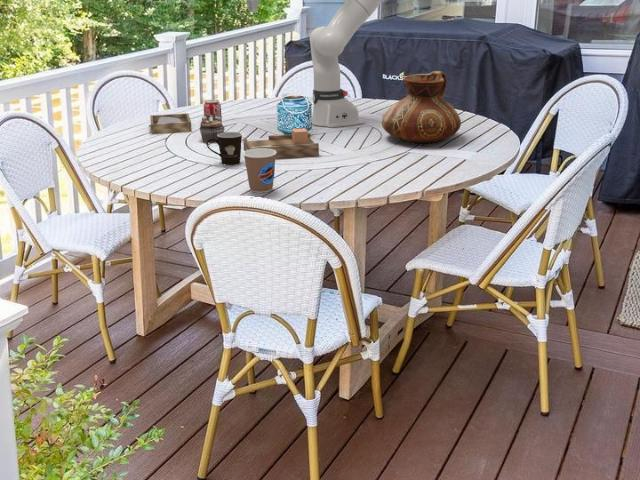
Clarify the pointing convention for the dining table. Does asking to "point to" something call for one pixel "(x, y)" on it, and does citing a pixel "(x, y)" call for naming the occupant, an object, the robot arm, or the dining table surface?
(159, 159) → the dining table surface
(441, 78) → the jug
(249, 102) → the dining table surface
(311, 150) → the trap box
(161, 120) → the stone block
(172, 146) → the dining table surface
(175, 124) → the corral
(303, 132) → the block
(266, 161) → the coffee cup
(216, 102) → the soda can
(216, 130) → the cupcake
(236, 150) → the coffee mug
